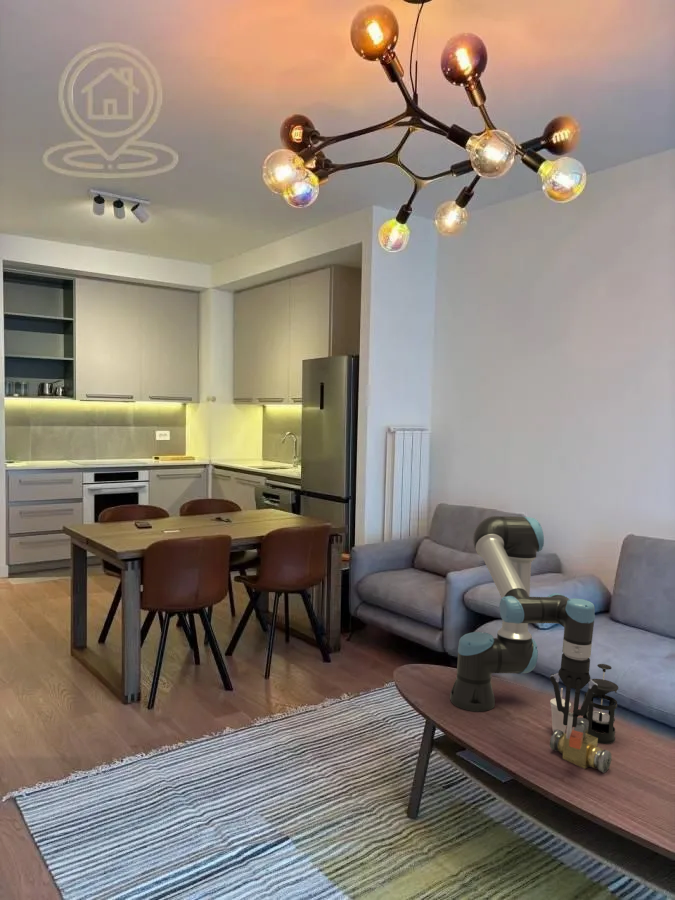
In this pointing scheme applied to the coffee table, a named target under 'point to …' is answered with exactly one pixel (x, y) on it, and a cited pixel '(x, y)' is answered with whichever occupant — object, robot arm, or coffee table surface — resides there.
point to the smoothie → (558, 714)
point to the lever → (578, 733)
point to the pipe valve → (581, 751)
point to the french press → (599, 718)
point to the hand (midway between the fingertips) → (568, 736)
